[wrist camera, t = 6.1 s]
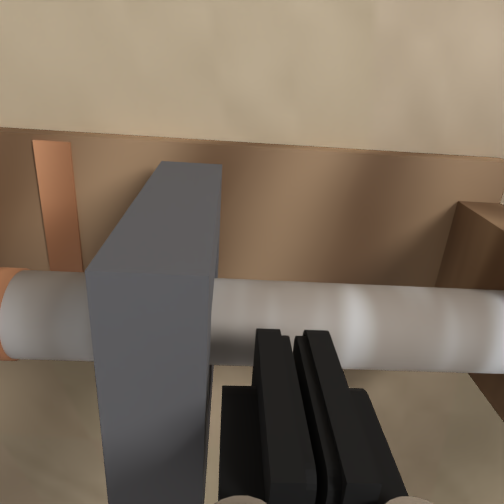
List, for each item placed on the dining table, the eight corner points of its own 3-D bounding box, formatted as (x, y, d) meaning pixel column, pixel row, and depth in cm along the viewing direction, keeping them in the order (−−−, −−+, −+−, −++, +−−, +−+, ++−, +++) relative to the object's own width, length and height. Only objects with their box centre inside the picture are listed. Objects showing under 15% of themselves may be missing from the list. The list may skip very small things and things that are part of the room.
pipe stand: (499, 158, 16) (662, 221, 10) (446, 336, 19) (544, 466, 13) (-120, 119, 15) (-369, 165, 9) (-66, 318, 18) (-219, 452, 12)
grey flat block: (222, 164, 14) (209, 276, 7) (215, 339, 17) (201, 546, 10) (161, 161, 14) (84, 270, 7) (164, 337, 17) (112, 545, 10)
